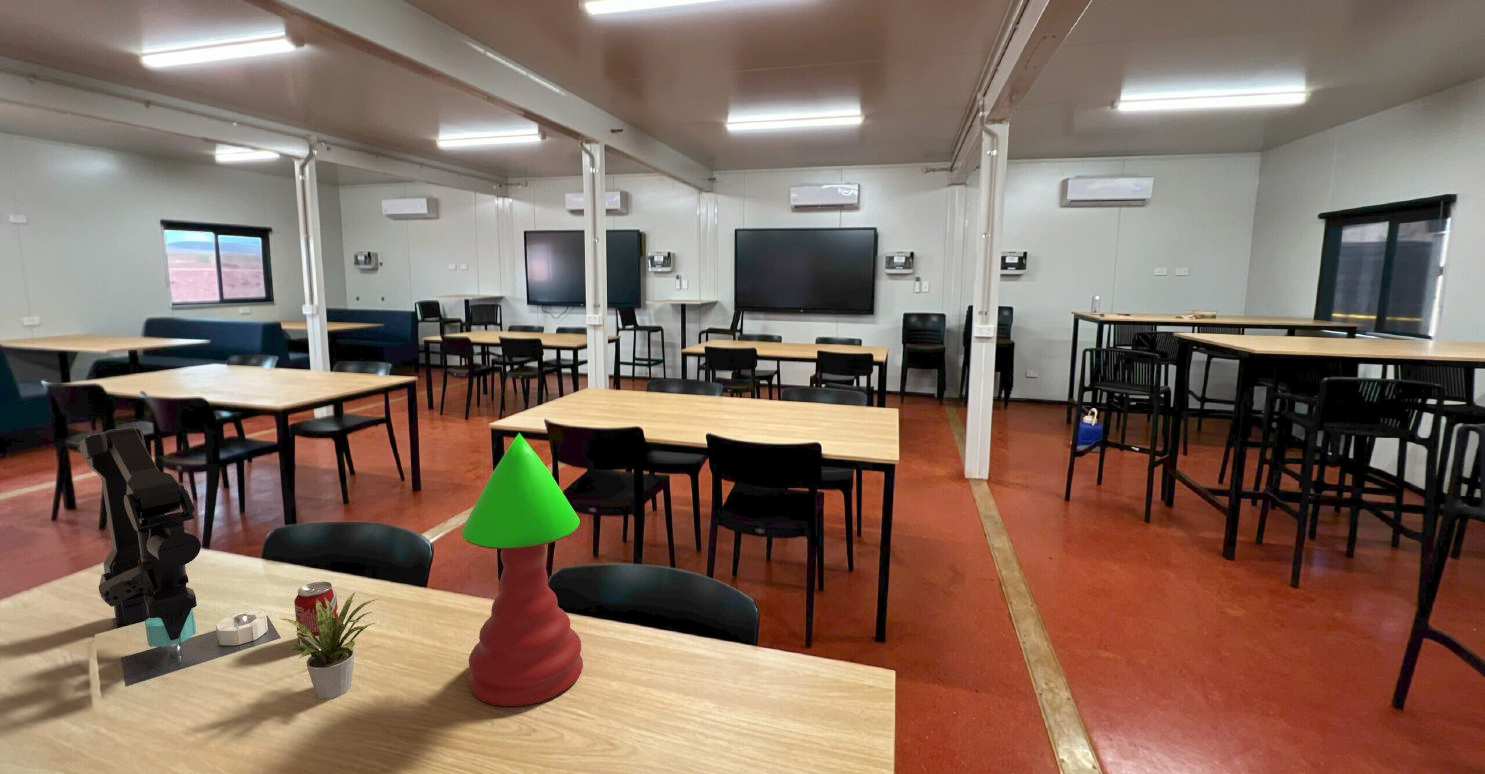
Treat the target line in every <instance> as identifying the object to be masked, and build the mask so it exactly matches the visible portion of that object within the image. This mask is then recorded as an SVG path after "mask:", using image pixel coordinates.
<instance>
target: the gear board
mask: <svg viewBox="0 0 1485 774" xmlns="http://www.w3.org/2000/svg"><path fill="white" fill-rule="evenodd" d="M266 618H267V628H268V630H267V632H266V633H264V634H263V635H262V636H260V637H259V638H258V639H256V640H253V641H250V642H246V643H243V644H240V645H235V646H234V645H219V641H218V640H217V632H216V629H215V630H212V631H208V632H205V633H202V634H201V633H200V634H198V635H193V636H191V637H190V638H188V639H187V640H185V641H183V642H180V643H176V644H173V645H169V646H166V647H152V648H150V649H146V650H142V651H139V652H135V653H132V654H129V655H125V656H122V657H120V658H121V666H122V671H123V677H124V682H125V687H129V686H132V685H135V684H138V683H142V682H146V681H149V680H151V679H155V678H157V677H161V676H164V675H168V674H171V673H175V672H177V671H180V670H184V669H187V668H191V667H193V666H194V667H195V666H197V665H200V664H202V663H207V662H209V661H212V660H216V659H219V658H223V657H225V656H228V655H231V654H235V653H237V652H241V651H245V650H248V649H251V648H254V647H257V646H260V645H263V644H268V643H270V642H274V641H277V640H280V639H282V637H281V636H280V634H279V632H278V630H277V629H276V627H275V626H274V624H273V622H272V621H271V619H270V617H269V616H268V615H266ZM246 624H248V616H247V614H241V615H238V616H236V617H235V627H239V626H242V625H246Z"/></svg>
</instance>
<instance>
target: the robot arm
mask: <svg viewBox="0 0 1485 774" xmlns="http://www.w3.org/2000/svg"><path fill="white" fill-rule="evenodd" d="M79 450H80V451H79V452H80V455H81V458H82V460H86V464H87V467H88V468H89V469H91V470H92V471H93V472H95V474H97V475H98V476H99V477H100V480H101V486H102V492H103V498H104V505H105V506H104V507H105V512H106V517H107V523H108V531H109V536H110V541H111V543H110V544H111V550H110V552H109V554H108V556H107V557H106V559H105V560H104V562H103V570H104V573H102V574H101V575H100V580H99V583H98V593H99V594H100V598H101V599H102V600H103V602H104V603H106V604H108V606H109V607H113V611H114V618H112V624H113V629H114V630H117V629H121V628H125V627H128V626H132V625H136V624H139V623H145V621H146V620H147V619H148V618H160V619H161V620H162V622H163V624H164V626H165V628H166V631H167V633H168V635H169V638H170V640H175V639H178V638H179V636H180V634H181V632H182V629H183V627H184V625H185V622H186V620H187V618H188V616H189V613H190V611H191V609H194V608H196V607H197V604H198V603H197V596H196V594H195V592H194V589H193V588H190V587H188V586H187V584H188V583H189V576H188V575H187V568H186V565H187V564H189V563H191V562H192V561H194V560H195V559H196V557H198V555H199V554H200V551H201V549H202V548H201V547H202V545H201V544H202V543H201V541H200V540H199V538H198V537H197V536H196V535H194V534H193V533H191V532H190V531H189V530H187V529H186V528H185V524H184V522H187V521H193V520H194V519H195V516H194V513H195V510H196V508H195V506H194V503H193V501H192V499H191V497H190V493H189V491H188V490H187V489H185V487H184V485H183V484H180V483H179V482H178V481H177V480H176V478H175V476H174V475H173V474H170V473H168V472H164V471H160V469H159V468H158V466H157V465H156V463H155V462H154V460H153V458H152V456H151V454H150V453H149V451H148V449H147V446H146V442H145V437H144V432H143V429H142V430H140V428H138V427H124V428H117V429H116V428H115V429H108V430H106V431H104V432H100V433H99V432H98V433H91V434H87V436H86V437H85V438H83V439H81V440H80V442H79ZM180 509H182V511H180Z"/></svg>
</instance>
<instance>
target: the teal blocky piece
mask: <svg viewBox="0 0 1485 774" xmlns="http://www.w3.org/2000/svg"><path fill="white" fill-rule="evenodd" d="M193 609H194V608H192V609H191V611H190V613H189V616H188V618H187V620H186V622H185V625H184V627H183V629H182V632H181V634H180V636H179V638H178V639H175V640H170V638H169V635H168V633H167V631H166V628H165V626H164V624H163V622H162V620H161V619H160V618H148V619H147V620H146V621H144V625H145V632H146V638H147V643H148V647H150V648H156V647H166V646H169V645H173V644H176V643H180V642H183V641H185V640H187V639H188V638H191V637H194V636H196V634H197V628H196V619H195V612H194V610H193Z"/></svg>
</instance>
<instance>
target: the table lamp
mask: <svg viewBox="0 0 1485 774" xmlns="http://www.w3.org/2000/svg"><path fill="white" fill-rule="evenodd" d="M580 522H581V521H580V518H579V516H578V514H577V512H576V511H575V510H574V508H573V507H572V505H571V504H570V501H569V500H568V499H567V497H566V495H565V494H564V492H563V491H562V489H561V488H560V486H559V485H558V483H557V481H556V480H555V478H554V476H553V475H552V473H551V472H550V471H549V469H548V467H546V465H545V464H544V462H543V461H542V460H541V459H540V457H539V455H538V454H537V453H536V452H535V451H534V450H533V448H532V447H531V446H530V444H529V443H528V442H527V440H526V439H525V438H524V437H523V436H522V434H521V433H520V432H518V434H517V435H516V436H515V438H514V439H513V441H512V443H511V444H510V445H509V447H508V449H507V450H506V451H505V453H504V454H503V456H502V457H501V459H500V460H499V462H498V463H497V465H496V467H495V468H494V470H493V471H492V473H491V475H490V477H489V479H488V480H487V481H486V483H485V486H484V488H483V489H482V492H481V493H480V495H479V497H478V499H477V500H476V502H475V504H474V506H473V509H472V510H471V512H470V513H469V516H468V517H467V519H466V521H465V523H464V525H463V527H462V529H461V531H460V532H461V536H462V537H463V539H464V540H465V541H466V542H468V543H469V544H471V545H472V546H476V547H480V548H485V549H490V550H491V549H492V550H501V551H500V560H501V562H502V567H503V569H502V573H501V576H500V579H499V587H500V591H499V594H498V595H497V596H496V597H495V599H494V600H493V602H492V605H491V610H490V611H491V616H489V618H487V620H486V621H484V623H483V625H482V626H481V628H480V630H479V635H478V636H479V637H478V638H479V641H478V643H476V644H475V646H474V647H473V649H472V651H471V652H470V654H469V658H468V667H469V671H470V674H469V676H468V681H467V684H468V689H469V690H470V692H471V694H473V695H474V696H475V697H476V698H477V699H479V700H481V701H483V702H485V703H487V704H491V705H493V706H496V707H497V706H499V707H519V706H520V707H521V706H528V705H533V704H537V703H542V702H544V701H547V700H549V699H552V698H553V697H556V696H557V695H559V694H561V693H563V692H564V691H565V690H567V689H568V688H570V687H571V686H572V685H573V684H574V683H575V682H576V681H578V678H579V677H580V676H581V673H582V671H583V668H584V660H583V657H582V656H581V652H582V641H581V638H580V636H579V635H578V633H577V632H575V630H574V629H573V628H571V620H570V618H569V617H570V616H569V615H568V614H567V613H566V612H565V610H563V609H562V608H561V607H559V604H558V596H557V595H556V593H555V592H554V590H552V589H551V588H550V586H549V584H548V578H549V577H548V571H547V569H546V568H545V565H544V560H545V557H546V546H545V545H548V544H551V543H555V542H558V541H560V540H561V541H562V539H565V538H567V537H569V536H570V535H571V534H573V533H574V532H576V530H577V529H578V528H579V525H580Z"/></svg>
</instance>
